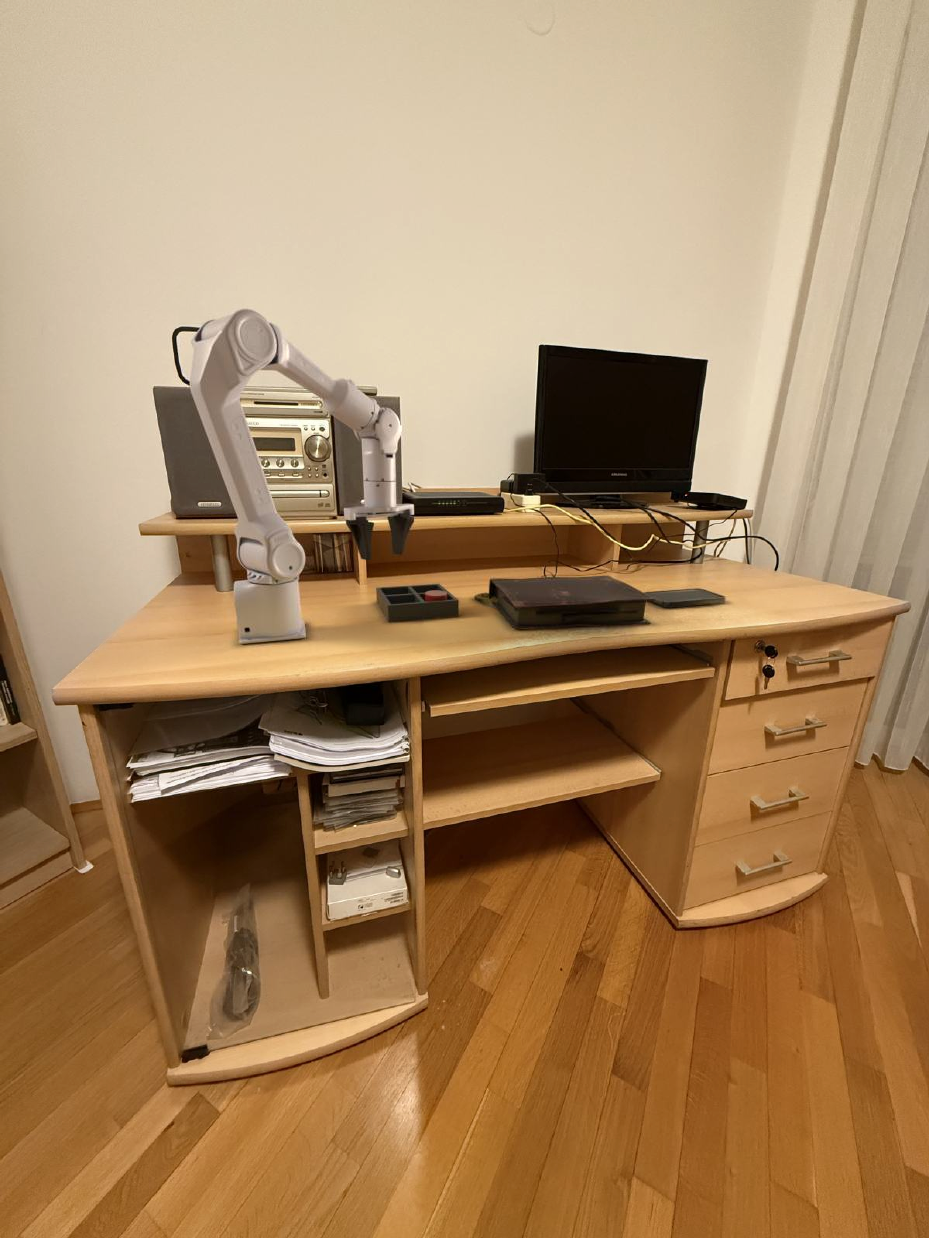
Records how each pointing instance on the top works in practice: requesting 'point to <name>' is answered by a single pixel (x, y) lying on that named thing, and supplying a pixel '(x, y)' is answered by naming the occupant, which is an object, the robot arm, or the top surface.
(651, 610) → the top surface
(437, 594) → the red short cylinder
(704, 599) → the phone
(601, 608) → the diary
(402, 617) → the tray
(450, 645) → the top surface
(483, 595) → the seal
